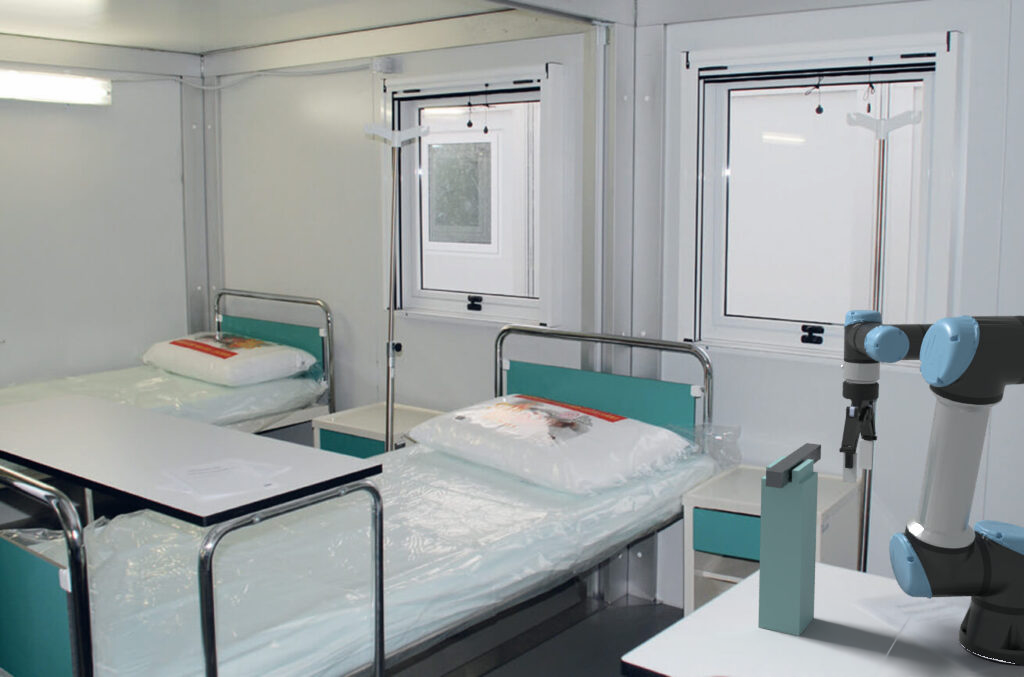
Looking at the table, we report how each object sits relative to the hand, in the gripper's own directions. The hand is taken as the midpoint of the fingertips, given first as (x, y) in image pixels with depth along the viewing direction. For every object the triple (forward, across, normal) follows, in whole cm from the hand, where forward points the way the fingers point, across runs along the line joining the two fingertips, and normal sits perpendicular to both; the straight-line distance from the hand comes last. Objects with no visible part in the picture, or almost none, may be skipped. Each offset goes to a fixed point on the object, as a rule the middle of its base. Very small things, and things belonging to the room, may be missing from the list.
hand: (857, 475), depth 220 cm
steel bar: (-7, +31, -4) cm, 32 cm away
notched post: (+23, +34, -4) cm, 41 cm away
